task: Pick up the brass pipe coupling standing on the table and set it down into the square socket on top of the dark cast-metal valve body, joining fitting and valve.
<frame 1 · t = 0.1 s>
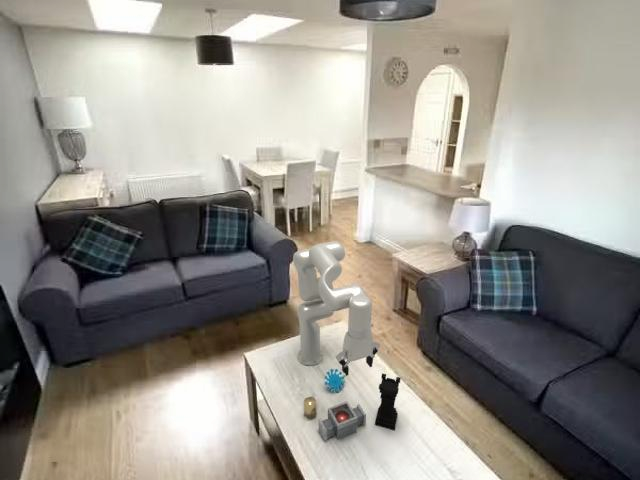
hand: (357, 368, 128), 31 cm above the table, fingers open, 9 cm apart
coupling: (310, 414, 148), on the table
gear: (335, 386, 161), on the table
chess piece: (386, 419, 145), on the table
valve: (342, 427, 142), on the table
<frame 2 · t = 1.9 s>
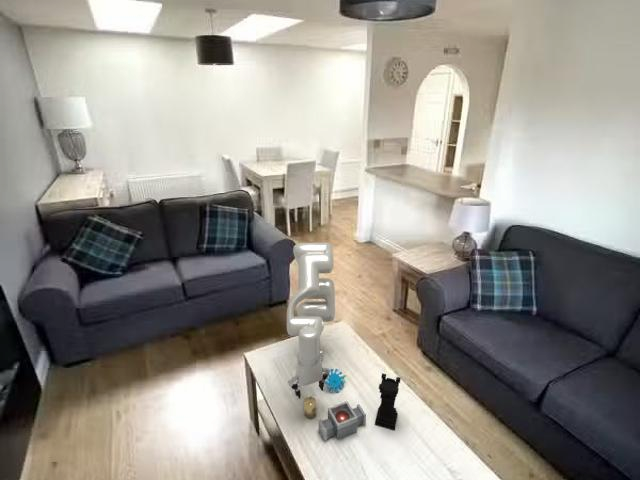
hand: (309, 392, 142), 13 cm above the table, fingers open, 9 cm apart
nothing on the table moved.
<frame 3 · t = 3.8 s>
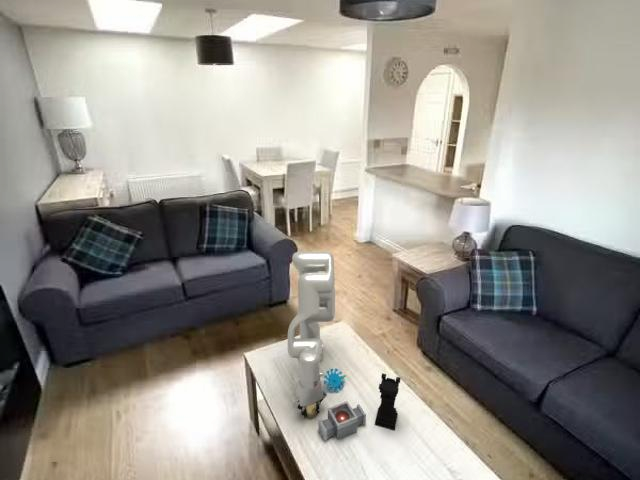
hand: (310, 412, 147), 1 cm above the table, fingers closed on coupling, 5 cm apart
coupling: (310, 414, 148), on the table, touching gripper
everything else where it was.
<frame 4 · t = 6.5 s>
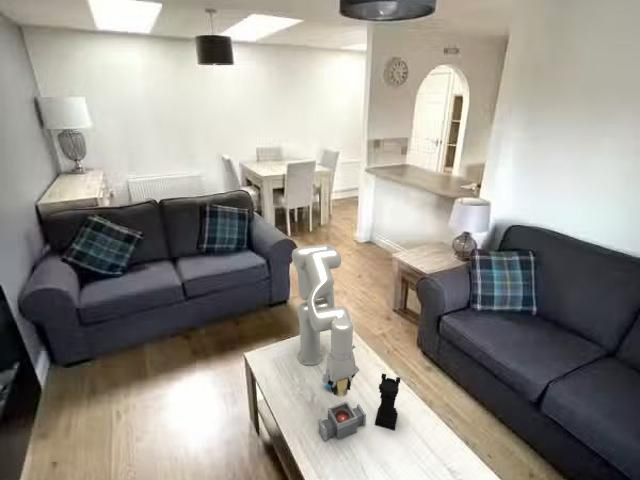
hand: (340, 389, 134), 20 cm above the table, fingers closed on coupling, 5 cm apart
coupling: (340, 391, 135), point 19 cm above the table, touching gripper
everything else where it was.
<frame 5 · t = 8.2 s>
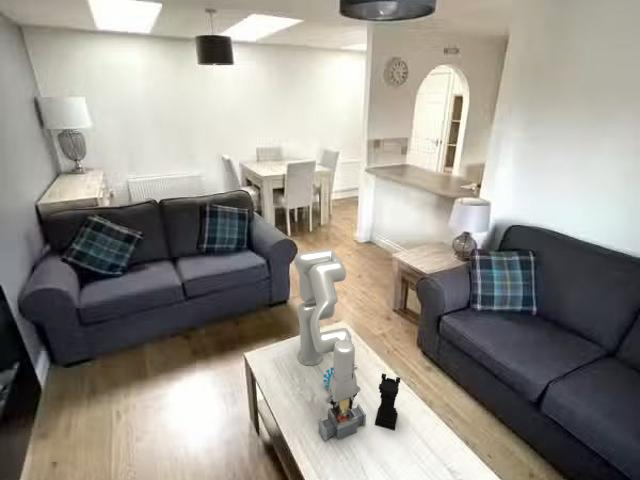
hand: (342, 408, 138), 10 cm above the table, fingers closed on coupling, 5 cm apart
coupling: (342, 410, 138), point 10 cm above the table, touching gripper
everything else where it was.
when the fingers open (8 cm above the table, at t = 9.5 s): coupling drops 1 cm, resting on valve.
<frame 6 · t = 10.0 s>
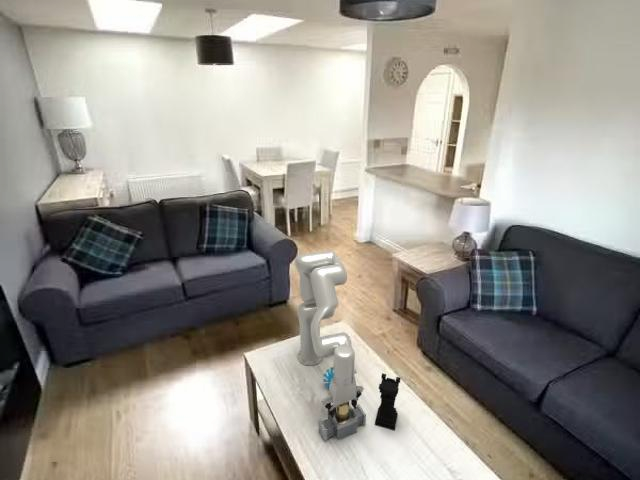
hand: (342, 410, 138), 9 cm above the table, fingers open, 9 cm apart
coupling: (342, 416, 139), point 6 cm above the table, touching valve
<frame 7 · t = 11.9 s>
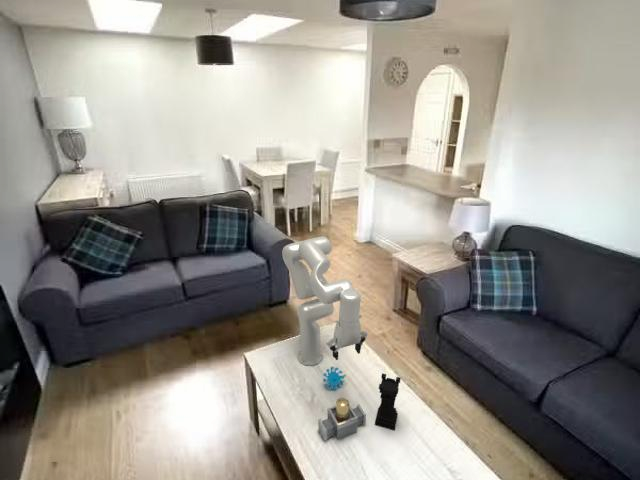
hand: (346, 354, 143), 26 cm above the table, fingers open, 9 cm apart
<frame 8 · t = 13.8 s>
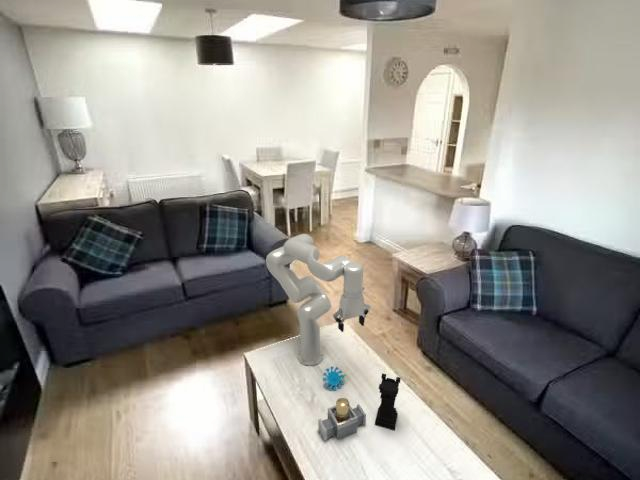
hand: (351, 327, 152), 30 cm above the table, fingers open, 9 cm apart
at the end: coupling 0.1 cm off-centre on the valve, point 6.2 cm above the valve's base; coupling tilted 0°; the gripper is holding nothing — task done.
